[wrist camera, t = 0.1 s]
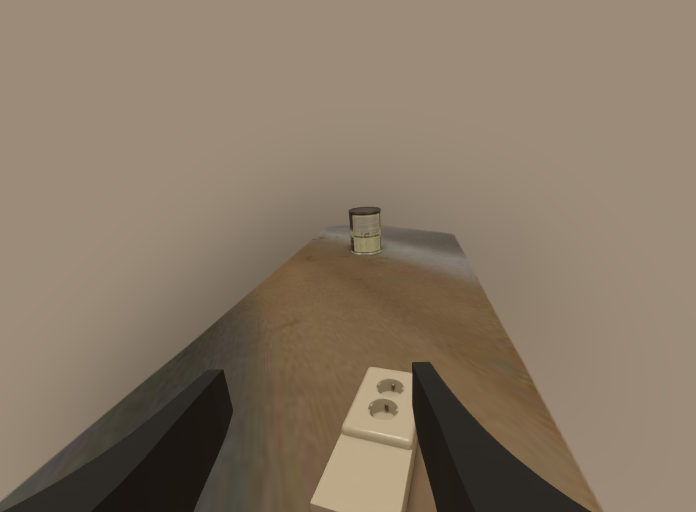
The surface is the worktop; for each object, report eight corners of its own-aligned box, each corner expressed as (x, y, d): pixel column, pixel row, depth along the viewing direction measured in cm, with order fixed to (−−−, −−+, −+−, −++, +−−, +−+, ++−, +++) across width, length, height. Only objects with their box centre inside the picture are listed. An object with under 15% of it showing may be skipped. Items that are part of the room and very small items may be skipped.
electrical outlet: (309, 494, 27) (368, 364, 43) (313, 531, 28) (369, 391, 44) (397, 521, 24) (424, 373, 40) (398, 560, 25) (424, 401, 42)
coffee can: (344, 251, 112) (342, 209, 108) (368, 245, 117) (366, 205, 113) (364, 257, 103) (362, 212, 99) (388, 250, 109) (387, 208, 105)
